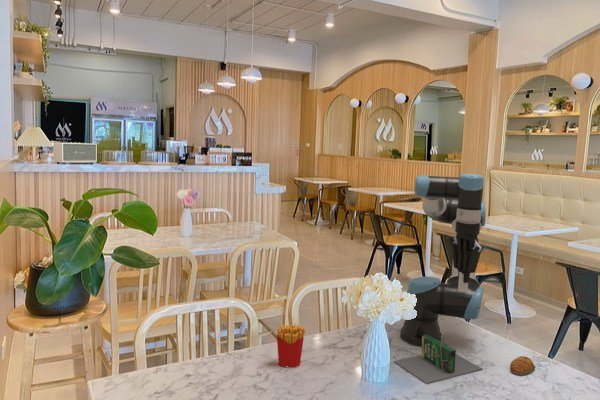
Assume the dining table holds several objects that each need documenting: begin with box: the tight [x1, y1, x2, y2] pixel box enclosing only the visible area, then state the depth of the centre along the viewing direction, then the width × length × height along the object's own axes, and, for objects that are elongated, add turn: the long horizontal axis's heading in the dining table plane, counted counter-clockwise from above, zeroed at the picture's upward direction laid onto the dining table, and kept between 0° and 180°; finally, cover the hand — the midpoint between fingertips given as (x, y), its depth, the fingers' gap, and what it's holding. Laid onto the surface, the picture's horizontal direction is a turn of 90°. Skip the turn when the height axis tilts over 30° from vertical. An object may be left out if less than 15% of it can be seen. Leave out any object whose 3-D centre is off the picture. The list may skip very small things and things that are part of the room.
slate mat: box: [393, 353, 484, 385], centre depth 157 cm, size 16×24×1 cm, turn 117°
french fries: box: [276, 323, 306, 368], centre depth 153 cm, size 9×4×13 cm, turn 92°
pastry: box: [509, 355, 536, 376], centre depth 156 cm, size 9×7×4 cm
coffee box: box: [421, 335, 457, 373], centre depth 156 cm, size 8×3×13 cm
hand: (462, 291), depth 157 cm, fingers closed
